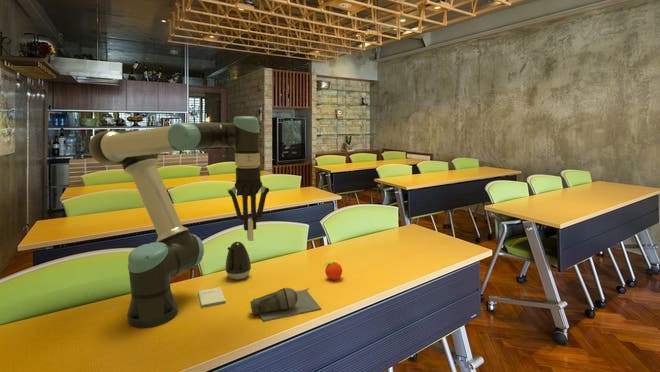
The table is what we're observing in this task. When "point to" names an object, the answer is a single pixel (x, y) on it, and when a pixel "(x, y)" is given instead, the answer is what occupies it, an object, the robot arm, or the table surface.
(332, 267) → the clementine
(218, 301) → the external hard drive
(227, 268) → the black tapered dome
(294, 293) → the beverage cup
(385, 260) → the table surface
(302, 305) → the mat
